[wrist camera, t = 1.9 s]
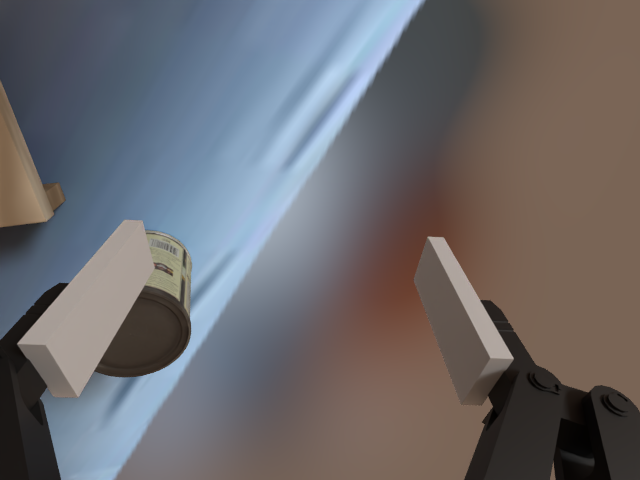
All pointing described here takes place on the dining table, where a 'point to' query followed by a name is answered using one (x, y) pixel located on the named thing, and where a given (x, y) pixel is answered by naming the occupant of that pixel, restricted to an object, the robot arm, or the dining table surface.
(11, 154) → the birch shelf
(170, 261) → the coffee can
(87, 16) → the dining table surface
